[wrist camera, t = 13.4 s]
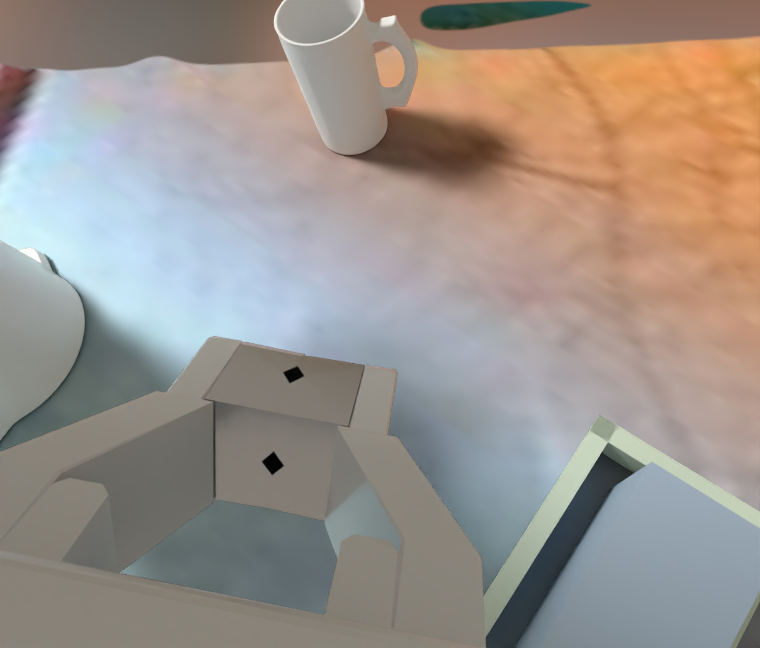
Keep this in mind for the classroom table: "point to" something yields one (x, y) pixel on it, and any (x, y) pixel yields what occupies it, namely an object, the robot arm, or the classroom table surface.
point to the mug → (344, 68)
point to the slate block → (653, 572)
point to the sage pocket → (597, 441)
